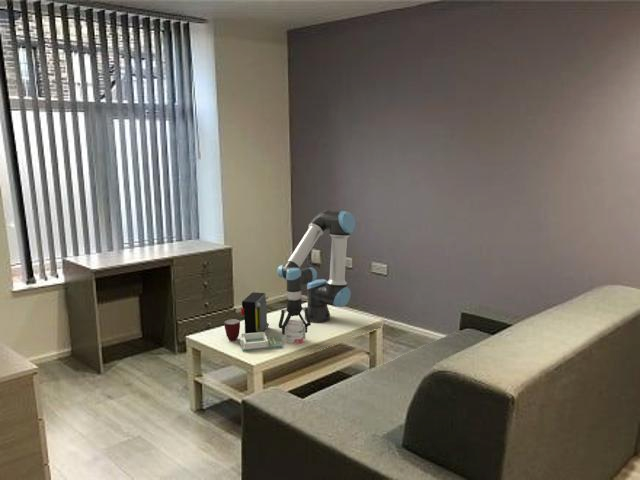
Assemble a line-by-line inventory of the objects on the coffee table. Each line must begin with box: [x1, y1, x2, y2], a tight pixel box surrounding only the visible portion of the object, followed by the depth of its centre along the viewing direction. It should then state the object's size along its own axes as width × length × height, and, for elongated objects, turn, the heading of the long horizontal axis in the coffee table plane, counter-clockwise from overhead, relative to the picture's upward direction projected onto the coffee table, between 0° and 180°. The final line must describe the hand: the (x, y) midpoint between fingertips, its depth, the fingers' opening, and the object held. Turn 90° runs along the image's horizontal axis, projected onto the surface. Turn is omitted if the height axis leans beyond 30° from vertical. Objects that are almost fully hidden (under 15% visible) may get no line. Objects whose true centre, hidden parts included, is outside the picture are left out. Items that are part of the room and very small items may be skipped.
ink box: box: [285, 317, 305, 345], centre depth 277 cm, size 9×5×12 cm, turn 71°
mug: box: [224, 318, 241, 342], centre depth 281 cm, size 11×8×10 cm
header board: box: [239, 331, 283, 353], centre depth 274 cm, size 20×14×4 cm
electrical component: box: [240, 291, 270, 334], centre depth 290 cm, size 18×10×20 cm, turn 168°
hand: (294, 339), depth 278 cm, fingers closed on ink box, 9 cm apart
